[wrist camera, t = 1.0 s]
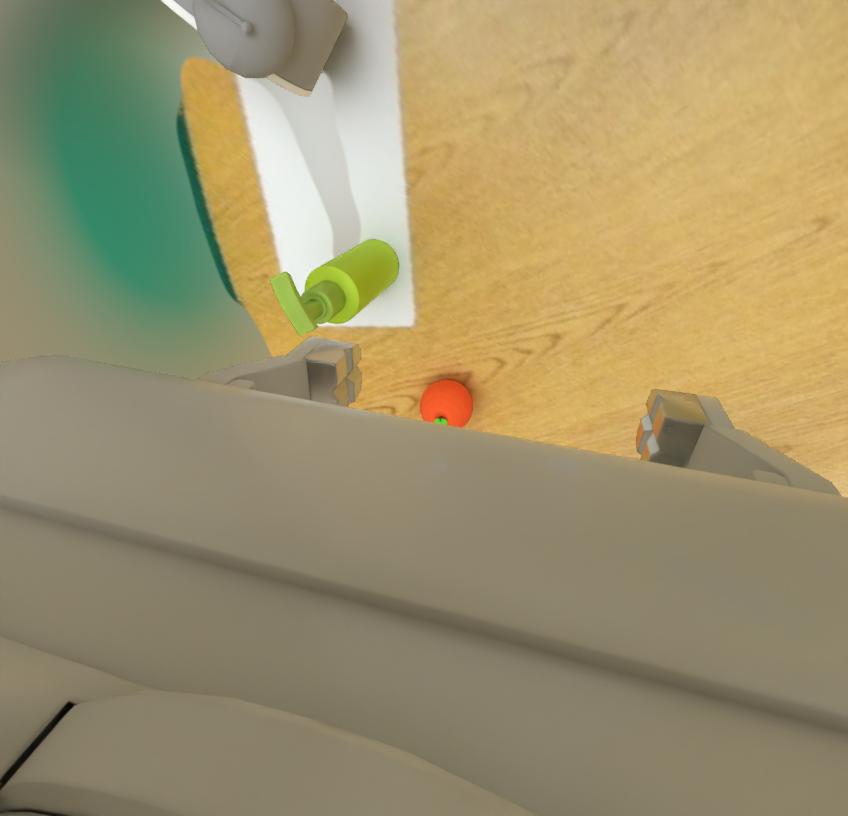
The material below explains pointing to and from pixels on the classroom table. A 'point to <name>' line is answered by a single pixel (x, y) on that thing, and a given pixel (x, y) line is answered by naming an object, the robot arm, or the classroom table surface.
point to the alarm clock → (268, 36)
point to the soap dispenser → (338, 286)
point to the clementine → (446, 404)
